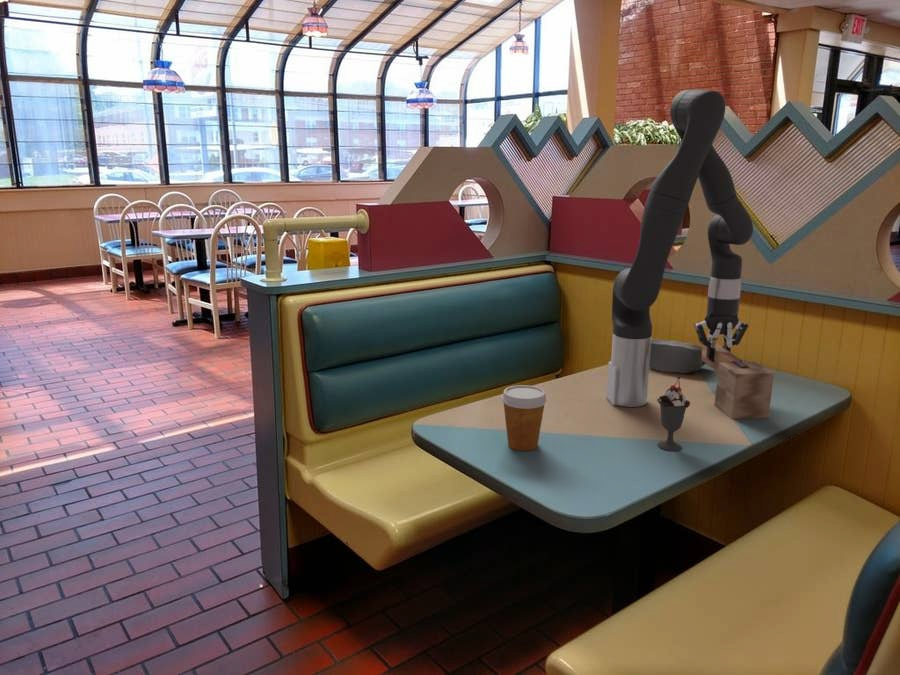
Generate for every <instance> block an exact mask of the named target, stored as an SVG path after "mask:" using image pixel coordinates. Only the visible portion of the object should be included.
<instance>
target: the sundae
mask: <svg viewBox="0 0 900 675" xmlns="http://www.w3.org/2000/svg"><path fill="white" fill-rule="evenodd" d="M680 379H681V377H680V376H678V377H677V381H676V383H675V384H673V385H670V387H669V388H668V389H666V390H665V391H664V393H663V395H660V396H659V398H657V400H656V401H657V402H658V404H659V405H660V406H659V407H660V408H659V410H660V421H661V426H662V427H663V428H664V430H666V431H667V438H666V440H664V441H663V440H662V441H660V442H658V443H657V447H658V448H659V447H660V449H661V448H662V449H661V450H663V449H664V450H665V451H667V450H669V451H668V452H677V450H678V451H680V450H682V445H681V444H680V443H678V442H676V441H675V440H674V433H675V432H676V431H678V430H680V429H681V427H682V425H683V422H684V418H685V413H686V409H688V408H689V407H690V406H691V402H690V401H689V400H687V399H686V397H685V394H683V393H682V388H681V386H680V382H679V380H680ZM677 384H678V386H677V387H676V385H677Z"/></svg>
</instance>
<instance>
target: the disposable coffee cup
mask: <svg viewBox="0 0 900 675" xmlns="http://www.w3.org/2000/svg"><path fill="white" fill-rule="evenodd" d="M501 401H502V403H503V410H504V418H505V427H506V428H505V429H506V438H507V445H508V448H511V449H512V450H516V451H520V452H521V451H522V452H523V451H525V452H526V451H532V450H535V449H536V448H538V447H539V446H538V445H539V439H540V433H541V427H542V421H543V417H544V416H543V414H544V408H545V404H546V403H547V401H548V397H547V395H546V392H545V390H544V389H543V388H540V387H539V386H534V385H533V386H532V385H526V384H525V385H522V384H520V385H512V386H511V385H510V386H508V387H506V388H505V389H504V390H503V393H502V394H501Z"/></svg>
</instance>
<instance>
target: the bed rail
mask: <svg viewBox="0 0 900 675" xmlns="http://www.w3.org/2000/svg"><path fill="white" fill-rule="evenodd" d="M702 348H703V349H702V359H701V360H702V361H703V362H705V363H706V364H705V365H707V366H708V367H710V368H711V369H713V370H714V371H715V372H716V373H718V368H719V363H728V362H732V363H734V364H736V365H737V366H739V367H740V368H742V369H743V368H746V366H745V365H744V364H742V362H743V360H742V359H741V358H739V357H738V356H737V355H735V354H733V353H732V352H731V351H730V352H729V351H727V350H725V349H724V348H722V346H721V345H719V344H718V343H717V342H716V344H715V347H714V348H715V355H714V362H710V361H709V360H708V359H707V357H706V354H707V346H705V345H703V344H702Z"/></svg>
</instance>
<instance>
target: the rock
mask: <svg viewBox="0 0 900 675" xmlns="http://www.w3.org/2000/svg"><path fill="white" fill-rule="evenodd" d="M702 349H703V346H700V345H697V344H694V343H687V342H681V341H680V340H679V341H678V340H663V339H657V338H651V351H650V364H649V368H650V369H653V370H654V369H657V370H656V371H659V370H661V371H660V372H665V371H668V372H667V373H679V374H690V373H692V372H697V371H699V370H700V369H701V368H702V367H704V365H707V364H706V363H705V362H703V361H702V360H701V359H702Z"/></svg>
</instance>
